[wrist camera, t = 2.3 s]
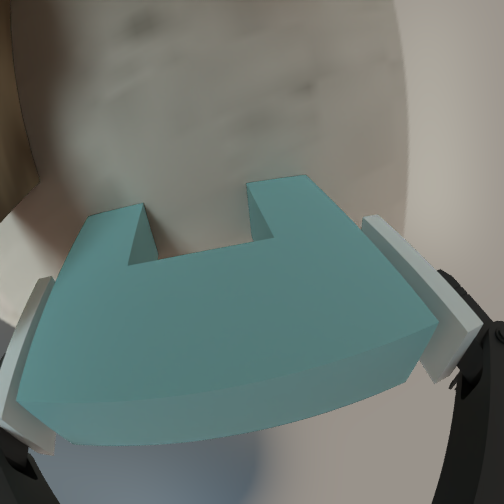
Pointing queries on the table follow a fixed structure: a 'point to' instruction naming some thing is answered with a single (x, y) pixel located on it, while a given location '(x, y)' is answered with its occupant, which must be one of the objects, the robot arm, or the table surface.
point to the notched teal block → (220, 326)
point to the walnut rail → (12, 128)
